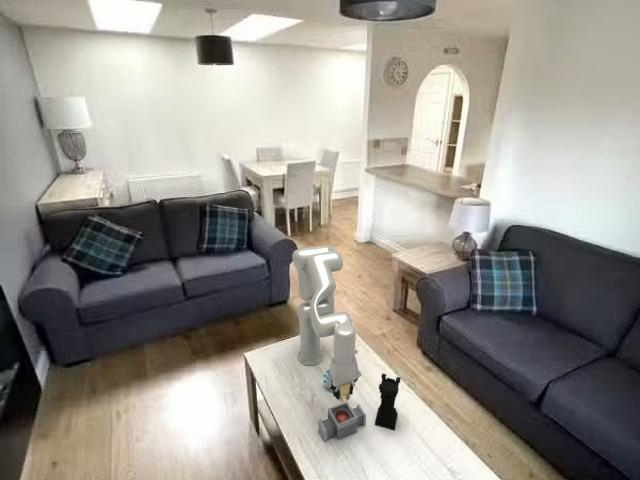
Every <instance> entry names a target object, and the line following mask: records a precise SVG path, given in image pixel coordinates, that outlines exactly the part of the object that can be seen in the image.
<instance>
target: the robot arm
mask: <svg viewBox="0 0 640 480" xmlns="http://www.w3.org/2000/svg"><path fill="white" fill-rule="evenodd" d="M291 256H292V257H291V258H292V262H293V265H294V267H295V269H296V272H297V279H298V294H299V296H300V297H299V298H300V299H301V300H303V301H304V302H302V303H300V304H299V305H298V306H297V308H296V309H297V317H298V323H299V335H300V336H299V341H300V349H299V352H298V353H297V360H298V361H299V363H300V364H302V365H304V366H311V367H312V366H316V365H318V364H320V363H321V362H322V361H323V359H324V353H323V351H322V350H321V338H326V337H330V336H333V357H332V358H331V360H330V364H329V369H328V370H329V379H327V382H326V383H324V387H325V388H326V389H329V390H330V389H331V390H333V391H332V395H333V397H334V398H335V399H336V400H337V401H340V400H339V390H338V389H339V386H340V385H343V384H346V383H349V382H350V396H351V395H353V393H354V392H353V391H354V386H355V385H356V382H357V381H358V380H359V378H360V377H362V375H363V374H362V373H361V371H360V370H358V369H359V368H358V362H357V361H358V360H357V358H356V357H357V356H356V355H357V354H358V353H359V352H358V351H359V350H358V349H357V348H356V339H357V338H356V337H357V335H356V333H357V331H356V328H355V327H354V325H353V318H352V316H351V315H350V313H349V312H348V311H339V312H335V311H336V310H335V309H336V308H335V291H336V289H337V284H336V281H335V278H334V275H333V273H334V272H340V271H342V269H343V267H344V262H343V261H344V260H343V257H342V256H341V254H340V252H339V251H338V250H337V249H336V248H334V247H332V246H331V245H328V244H327V245H317V246H310V247H304V248H298V249H296V250H294V251H293V252H292V255H291ZM331 383H333V384H331Z"/></svg>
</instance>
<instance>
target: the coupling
mask: <svg viewBox="0 0 640 480" xmlns="http://www.w3.org/2000/svg"><path fill="white" fill-rule="evenodd" d="M338 390H339V400H338V401H340V402H346V401H347V402H348V401H349V400H350V398H351V395H350V382H349V383H346V384H343V385H340V386H339V389H338Z"/></svg>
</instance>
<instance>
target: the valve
mask: <svg viewBox="0 0 640 480" xmlns="http://www.w3.org/2000/svg"><path fill="white" fill-rule="evenodd" d="M366 422H367V414H366V412H365V411H364V409H363V407H362V406H361V405H360V404H359V403H358V404H357V405H356V407H354V408H353V407H352V406H351V405H350V403H349V402H348V400H347V401H342V402H341V403H338V404H336V405H333V406H331V407H327V418H325V419H323V420H322V418H319V419H318V423H317V424H318V428H317V430H318V431H319V434H320V436H321V438H322V440H323V442H327V441H328V440H327V439H328V438H330V437H334V438H335V440H336V441H337V442H339V441H340V440H343V439H345V438H348V437H349V436H352V435H354V434H357V433H358V426H360V425H362V426H366V424H367V423H366Z"/></svg>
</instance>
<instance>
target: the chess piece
mask: <svg viewBox="0 0 640 480" xmlns="http://www.w3.org/2000/svg"><path fill="white" fill-rule="evenodd" d="M380 379H381V382H380V383H379V384H378V390H379V393H380V396H379V397H380V404H379V406H378V408H377V412H376V416H375V420H374V426H376V427H379V428H380V427H381V428H384V429H387V430H391V431H396V427H397V426H396V425H397V421H398V414H399V413H398V410H397V408H396V407H395V405H396V403H395V402H396V399H397V397H398V394H399V390H400V388H399V384H400V383H401V377H399V376H396V379H394V378H391V377H387V374H386V373H381V378H380Z"/></svg>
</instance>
